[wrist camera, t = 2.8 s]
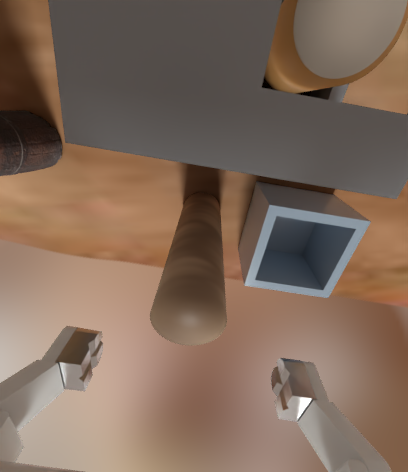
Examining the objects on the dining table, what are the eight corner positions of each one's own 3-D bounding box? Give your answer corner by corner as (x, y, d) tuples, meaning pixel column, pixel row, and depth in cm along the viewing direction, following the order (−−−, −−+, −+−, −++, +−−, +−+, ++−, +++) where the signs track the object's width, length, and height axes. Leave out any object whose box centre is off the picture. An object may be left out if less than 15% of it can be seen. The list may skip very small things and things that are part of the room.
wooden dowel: (181, 223, 26) (148, 339, 13) (185, 189, 24) (152, 285, 11) (216, 229, 26) (218, 349, 13) (223, 195, 25) (234, 297, 11)
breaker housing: (144, 124, 22) (65, 142, 10) (151, -95, 15) (-35, -689, 4) (302, 152, 22) (396, 199, 11) (371, -47, 16) (770, -437, 4)
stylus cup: (238, 248, 28) (244, 285, 22) (256, 181, 24) (269, 204, 18) (304, 259, 28) (328, 298, 22) (333, 194, 24) (370, 221, 18)
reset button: (251, 87, 17) (272, 75, 11) (271, -8, 14) (314, -92, 8) (318, 99, 17) (376, 95, 11) (349, 8, 15) (446, -63, 9)
